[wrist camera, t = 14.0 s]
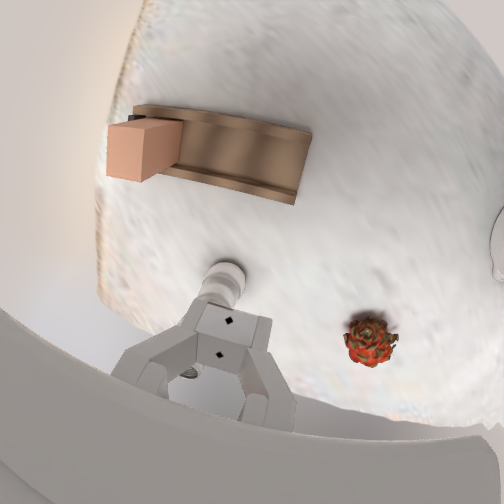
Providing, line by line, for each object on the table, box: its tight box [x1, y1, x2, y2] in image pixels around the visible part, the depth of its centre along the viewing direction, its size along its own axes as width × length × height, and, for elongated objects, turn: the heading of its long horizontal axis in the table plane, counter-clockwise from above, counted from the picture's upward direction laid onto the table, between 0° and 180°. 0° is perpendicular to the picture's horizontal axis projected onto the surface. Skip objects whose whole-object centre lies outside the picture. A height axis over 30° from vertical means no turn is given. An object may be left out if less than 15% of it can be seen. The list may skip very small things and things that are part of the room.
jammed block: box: [106, 117, 184, 182], centre depth 31 cm, size 5×6×10 cm
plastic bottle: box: [177, 262, 245, 380], centre depth 38 cm, size 6×7×20 cm
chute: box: [128, 105, 312, 205], centre depth 34 cm, size 24×9×4 cm, turn 79°
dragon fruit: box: [343, 317, 399, 368], centre depth 44 cm, size 8×8×12 cm
